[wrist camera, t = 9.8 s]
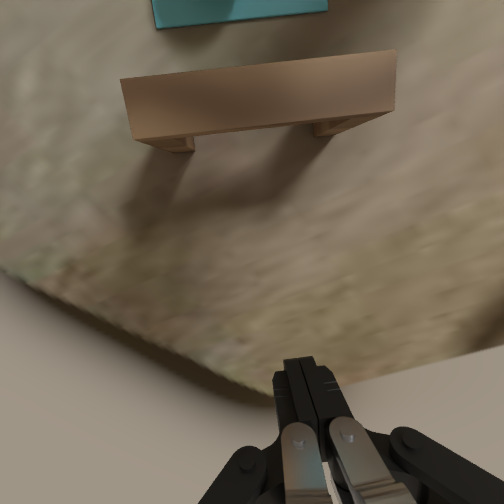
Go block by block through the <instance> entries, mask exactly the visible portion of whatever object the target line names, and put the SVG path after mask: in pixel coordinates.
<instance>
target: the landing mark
mask: <svg viewBox="0 0 504 504" xmlns="http://www.w3.org/2000/svg"><path fill="white" fill-rule="evenodd" d="M152 5H153V10H154V16H155V21H156V27H157V29H162V28H172V27H181V26H191V25H200V24H210V23H219V22H228V21H238V20H247V19H257V18H266V17H276V16H285V15H295V14H304V13H314V12H323V11H327V10H328V0H152Z"/></svg>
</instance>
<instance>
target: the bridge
mask: <svg viewBox="0 0 504 504" xmlns="http://www.w3.org/2000/svg"><path fill="white" fill-rule="evenodd" d="M396 58H397V49H393V50H384V51H375V52H366V53H357V54H347V55H338V56H329V57H320V58H310V59H301V60H292V61H283V62H273V63H264V64H255V65H246V66H236V67H227V68H218V69H209V70H200V71H190V72H181V73H172V74H163V75H153V76H144V77H135V78H126V79H120V82H121V87H122V91H123V96H124V100H125V105H126V109H127V114H128V118H129V123H130V127H131V132H132V136H133V140H136V141H139V142H142V143H145V144H148V145H151V146H154V147H157V148H160V149H163V150H166V151H169V152H172V153H179V152H187V151H195V145H194V138H193V136H200V135H208V134H217V133H226V132H235V131H244V130H253V129H262V128H271V127H280V126H289V125H298V124H307V123H313V130H314V137H320V136H329V135H336V134H338V133H341V132H343V131H346V130H348V129H350V128H353V127H355V126H358V125H360V124H363V123H365V122H367V121H370V120H372V119H375V118H377V117H380V116H382V115H384V114H387V113H389V112H392V111H394V107H395V82H396Z"/></svg>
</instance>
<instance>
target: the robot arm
mask: <svg viewBox="0 0 504 504" xmlns="http://www.w3.org/2000/svg"><path fill="white" fill-rule="evenodd" d="M283 363H284V371H277V372H275V374H274V377H273V379H272V382H273V391H274V400H275V408H276V414H277V419H278V426H279V436H278V438H277V440H276V441H275V442H274V443H273V444H272V445H270V446H269V447H267V448H265V449H263V450H260V449H258V448H257V447H254V446H245V447H242V448H240V449H238V450H237V451H236V452H235V453H234V454H233V455H232V457H231V458H230V459H229V461H228V462H227V464H226V465H225V466H224V468H223V469H222V471H221V472H220V474H219V475H218V476H217V478H216V479H215V481H214V482H213V483H212V485H211V486H210V487H209V489H208V490H207V492H206V493H205V495H204V496H203V497H202V499H201V500H200V501H199V503H198V504H333V502H332V499H331V495H329V493H328V489H327V485H326V480H325V476H324V470H323V466H322V462H328V464H329V468H330V471H331V483H332V486H333V489H334V491H335V494H336V497H337V500H338V502H339V504H504V481H502V480H500V479H499V478H497V477H495V476H494V475H492V474H490V473H489V472H487V471H485V470H483V469H482V468H480V467H478V466H477V465H475V464H473V463H471V462H470V461H468V460H466V459H465V458H463V457H461V456H460V455H458V454H456V453H454V452H453V451H451V450H449V449H448V448H446V447H444V446H442V445H441V444H439V443H437V442H435V441H434V440H432V439H430V438H429V437H427V436H425V435H424V434H422V433H420V432H418V431H417V430H415V429H412V428H409V427H397V428H395V429H393V430H392V432H391V434H390V435H387V434H381V433H376V432H372V431H369V430H367V429H365V428H364V427H363V426H362V425H361V424H360V423H359V422H358V421H356V420H355V419H354V417H353V415H352V413H351V411H350V409H349V407H348V404H347V402H346V400H345V398H344V396H343V394H342V392H341V390H340V387H339V385H338V383H337V382H336V379H335V377H334V375H333V373H332V372H331V371H330V370H329V369H328V368H327V367H326V366H325V365H324V366H317V365H316V363H315V361H314V358H313V356H308V357H300V358H293V359H285V360H283Z"/></svg>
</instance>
